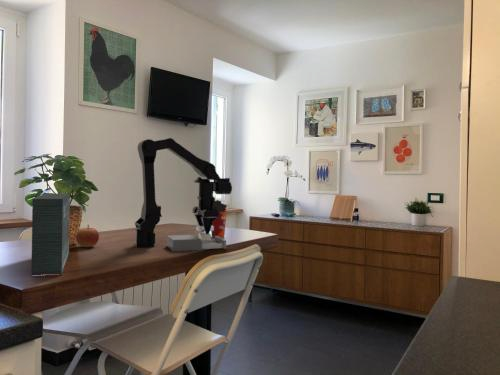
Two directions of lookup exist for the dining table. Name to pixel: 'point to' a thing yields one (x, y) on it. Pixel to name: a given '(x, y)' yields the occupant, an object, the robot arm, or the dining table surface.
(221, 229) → the paper cup
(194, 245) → the block
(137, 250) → the dining table surface
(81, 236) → the apple
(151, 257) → the dining table surface
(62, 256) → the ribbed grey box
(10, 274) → the dining table surface
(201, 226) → the disc
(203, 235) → the riser
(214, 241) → the tray
